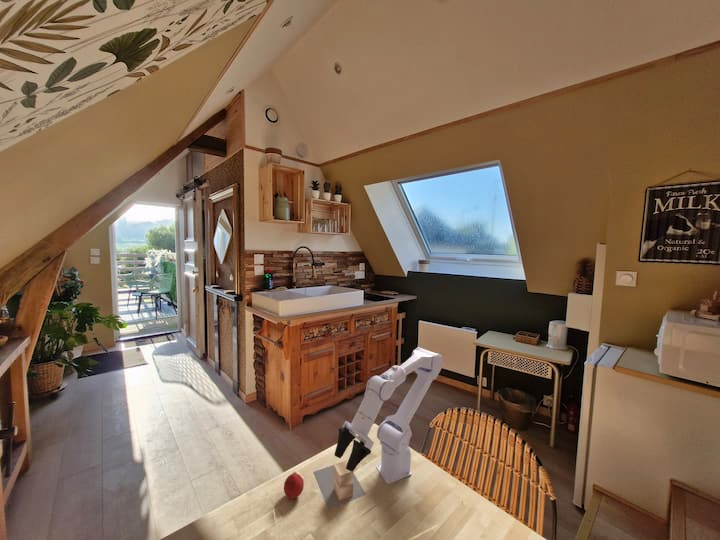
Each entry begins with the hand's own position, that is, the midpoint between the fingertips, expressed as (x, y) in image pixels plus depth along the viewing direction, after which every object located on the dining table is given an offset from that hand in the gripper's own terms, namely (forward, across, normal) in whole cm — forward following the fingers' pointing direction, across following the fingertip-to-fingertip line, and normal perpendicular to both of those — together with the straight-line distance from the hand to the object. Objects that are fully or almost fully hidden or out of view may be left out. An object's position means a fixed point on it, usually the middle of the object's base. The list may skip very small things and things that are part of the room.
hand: (342, 463), depth 82 cm
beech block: (+8, -7, +10) cm, 15 cm away
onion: (+17, -13, -1) cm, 21 cm away
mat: (+8, -11, +10) cm, 17 cm away
